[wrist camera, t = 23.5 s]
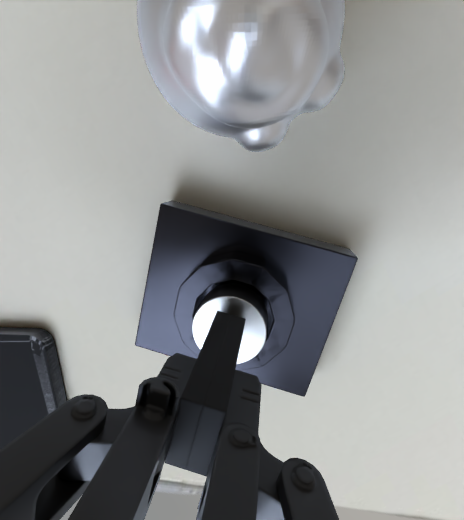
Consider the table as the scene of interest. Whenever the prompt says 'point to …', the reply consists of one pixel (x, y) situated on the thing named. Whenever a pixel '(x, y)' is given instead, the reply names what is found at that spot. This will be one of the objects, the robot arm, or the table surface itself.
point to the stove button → (239, 304)
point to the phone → (27, 380)
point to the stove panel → (248, 274)
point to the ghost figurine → (244, 62)
